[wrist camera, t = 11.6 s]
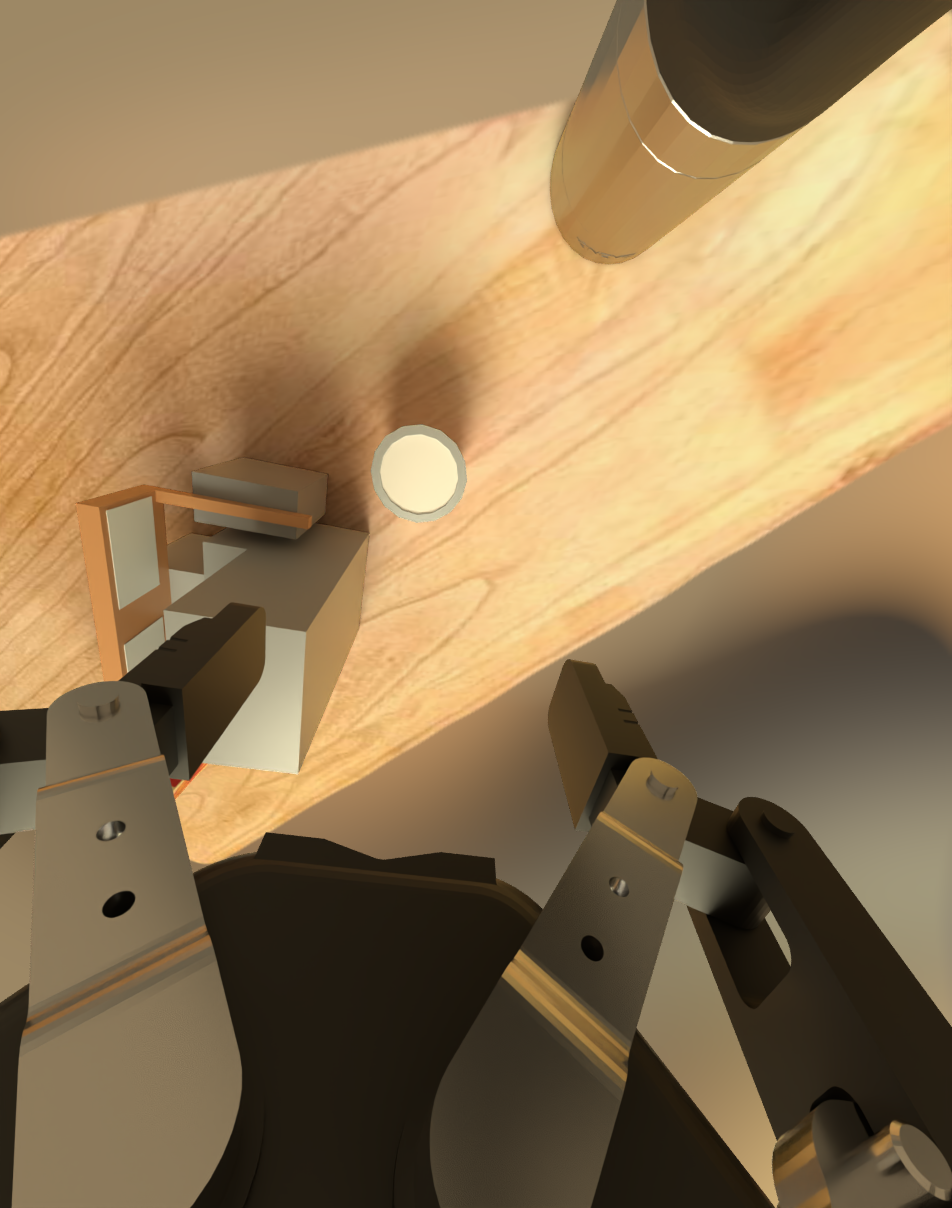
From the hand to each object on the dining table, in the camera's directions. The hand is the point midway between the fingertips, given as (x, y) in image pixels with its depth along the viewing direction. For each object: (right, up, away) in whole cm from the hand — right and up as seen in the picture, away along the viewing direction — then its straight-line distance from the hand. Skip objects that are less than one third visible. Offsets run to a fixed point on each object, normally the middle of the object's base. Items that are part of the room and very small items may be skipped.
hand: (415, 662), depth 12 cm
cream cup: (-3, +14, +26) cm, 30 cm away
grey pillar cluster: (-17, +5, +30) cm, 34 cm away
